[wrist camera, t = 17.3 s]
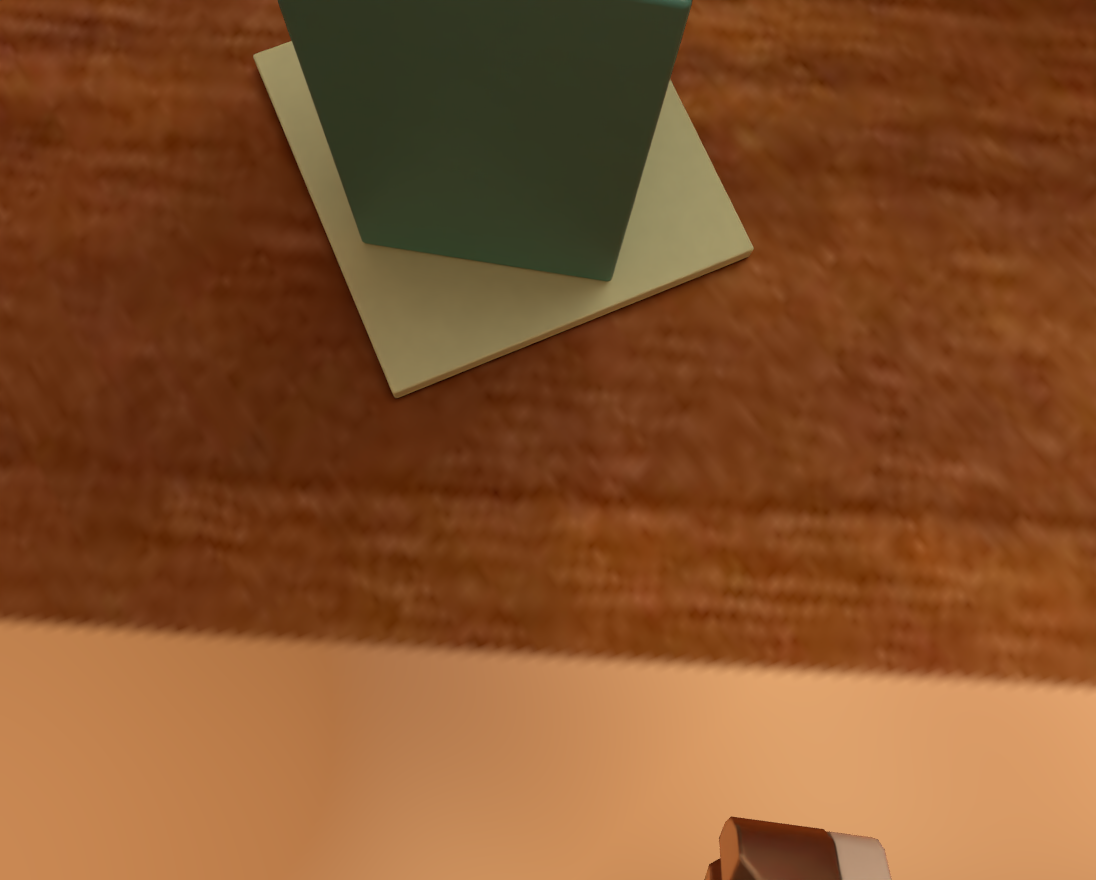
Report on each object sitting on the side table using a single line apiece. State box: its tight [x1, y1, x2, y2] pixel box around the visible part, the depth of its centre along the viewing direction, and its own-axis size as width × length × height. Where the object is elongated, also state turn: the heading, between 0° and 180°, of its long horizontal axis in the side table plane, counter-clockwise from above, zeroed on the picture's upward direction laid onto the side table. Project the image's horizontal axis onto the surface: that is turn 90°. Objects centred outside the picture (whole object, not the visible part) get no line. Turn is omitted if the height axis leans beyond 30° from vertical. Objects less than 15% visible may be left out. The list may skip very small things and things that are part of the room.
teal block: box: [278, 0, 692, 281], centre depth 15 cm, size 4×4×8 cm
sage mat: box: [253, 41, 753, 398], centre depth 19 cm, size 7×7×1 cm
